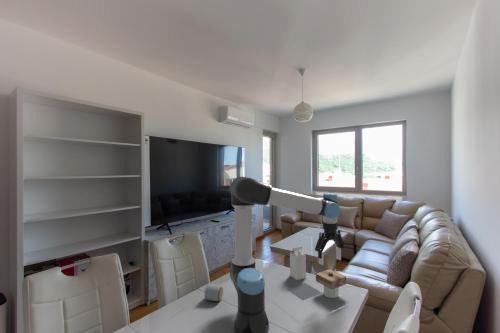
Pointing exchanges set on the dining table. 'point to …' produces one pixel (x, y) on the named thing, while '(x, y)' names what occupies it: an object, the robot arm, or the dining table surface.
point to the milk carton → (298, 263)
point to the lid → (330, 279)
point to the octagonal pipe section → (331, 292)
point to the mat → (304, 291)
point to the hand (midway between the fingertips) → (329, 261)
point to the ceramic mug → (213, 292)
